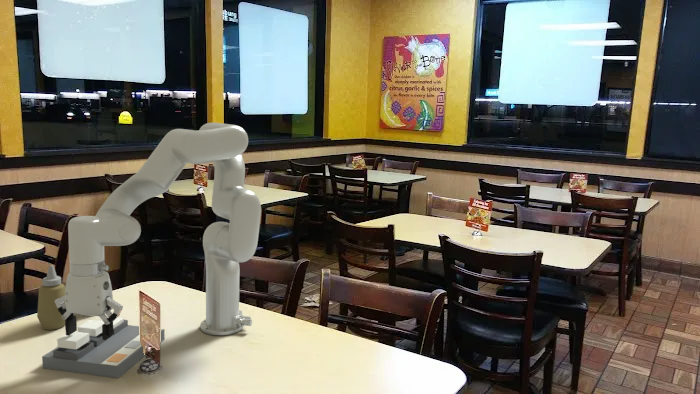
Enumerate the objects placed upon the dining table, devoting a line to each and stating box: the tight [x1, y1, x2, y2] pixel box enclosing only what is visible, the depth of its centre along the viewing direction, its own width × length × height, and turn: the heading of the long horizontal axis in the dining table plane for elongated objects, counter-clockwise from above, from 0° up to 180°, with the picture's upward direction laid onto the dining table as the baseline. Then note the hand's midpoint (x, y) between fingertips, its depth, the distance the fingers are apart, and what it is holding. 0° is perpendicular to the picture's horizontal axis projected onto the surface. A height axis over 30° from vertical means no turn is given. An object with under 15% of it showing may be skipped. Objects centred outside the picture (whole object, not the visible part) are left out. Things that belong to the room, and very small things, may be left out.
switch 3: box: [100, 315, 125, 328], centre depth 146 cm, size 5×5×2 cm
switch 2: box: [77, 319, 104, 337], centre depth 138 cm, size 5×5×2 cm
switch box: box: [41, 319, 166, 379], centre depth 138 cm, size 20×22×5 cm
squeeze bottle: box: [36, 264, 66, 331], centre depth 152 cm, size 8×8×18 cm
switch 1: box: [56, 331, 90, 349], centre depth 131 cm, size 5×5×2 cm
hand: (89, 335), depth 130 cm, fingers open, 9 cm apart
